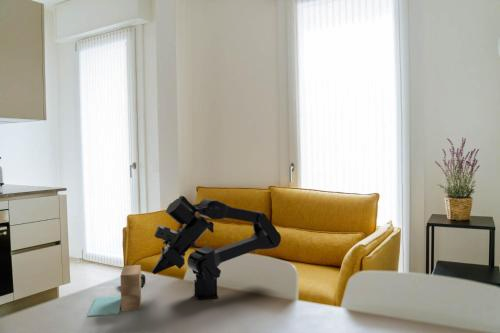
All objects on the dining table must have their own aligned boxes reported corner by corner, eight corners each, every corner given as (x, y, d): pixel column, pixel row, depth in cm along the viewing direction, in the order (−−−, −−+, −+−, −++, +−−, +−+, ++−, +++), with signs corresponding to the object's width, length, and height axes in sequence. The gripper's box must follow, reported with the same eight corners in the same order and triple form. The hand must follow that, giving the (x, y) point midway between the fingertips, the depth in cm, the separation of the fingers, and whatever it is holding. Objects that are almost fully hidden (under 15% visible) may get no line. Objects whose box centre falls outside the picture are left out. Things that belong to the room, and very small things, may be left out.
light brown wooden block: (141, 297, 124) (140, 264, 124) (139, 309, 114) (139, 274, 114) (124, 298, 123) (123, 266, 122) (121, 311, 113) (120, 275, 113)
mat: (123, 296, 125) (123, 295, 125) (118, 313, 111) (118, 312, 111) (95, 298, 123) (95, 297, 123) (87, 316, 109) (87, 315, 109)
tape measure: (143, 282, 139) (143, 271, 139) (147, 288, 133) (146, 276, 133) (123, 285, 136) (122, 274, 136) (125, 291, 130) (125, 279, 130)
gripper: (169, 211, 129) (134, 248, 127) (171, 220, 111) (130, 263, 109) (194, 234, 131) (160, 271, 129) (200, 247, 113) (161, 289, 111)
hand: (153, 272), depth 119 cm, fingers closed
